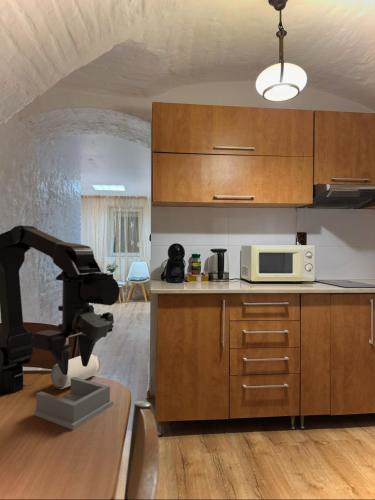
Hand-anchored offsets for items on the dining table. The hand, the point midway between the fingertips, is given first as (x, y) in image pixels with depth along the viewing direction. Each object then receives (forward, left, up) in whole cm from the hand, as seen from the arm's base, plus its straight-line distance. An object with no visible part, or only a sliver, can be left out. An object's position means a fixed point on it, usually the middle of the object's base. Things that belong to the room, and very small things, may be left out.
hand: (75, 370), depth 75 cm
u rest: (0, 0, -9) cm, 9 cm away
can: (-12, +5, -6) cm, 14 cm away
